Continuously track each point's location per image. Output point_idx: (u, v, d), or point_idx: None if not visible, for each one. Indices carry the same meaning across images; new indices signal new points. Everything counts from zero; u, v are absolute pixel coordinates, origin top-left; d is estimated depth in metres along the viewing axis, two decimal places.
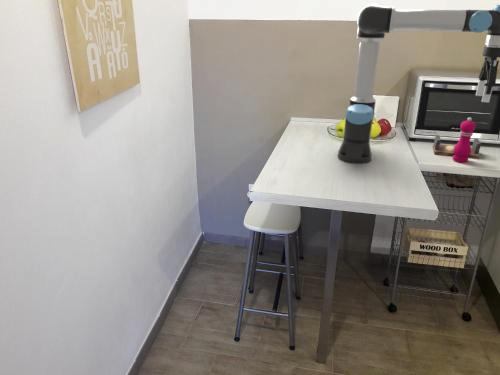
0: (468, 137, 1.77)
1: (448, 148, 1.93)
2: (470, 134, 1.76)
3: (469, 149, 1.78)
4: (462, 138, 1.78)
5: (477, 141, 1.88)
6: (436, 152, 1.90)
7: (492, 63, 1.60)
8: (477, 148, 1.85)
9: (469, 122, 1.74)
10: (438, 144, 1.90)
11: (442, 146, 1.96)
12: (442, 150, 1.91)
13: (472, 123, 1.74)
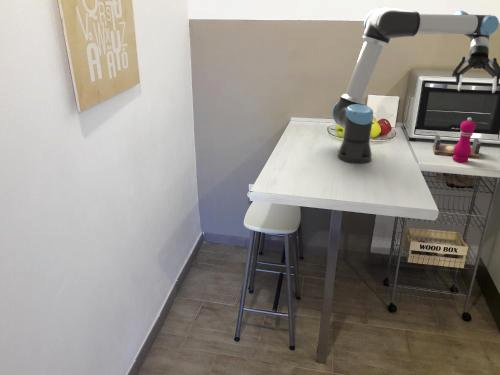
0: (468, 137, 1.77)
1: (448, 148, 1.93)
2: (470, 134, 1.76)
3: (469, 149, 1.78)
4: (462, 138, 1.78)
5: (477, 141, 1.88)
6: (436, 152, 1.90)
7: None
8: (477, 148, 1.85)
9: (469, 122, 1.74)
10: (438, 144, 1.90)
11: (442, 146, 1.96)
12: (442, 150, 1.91)
13: (472, 123, 1.74)
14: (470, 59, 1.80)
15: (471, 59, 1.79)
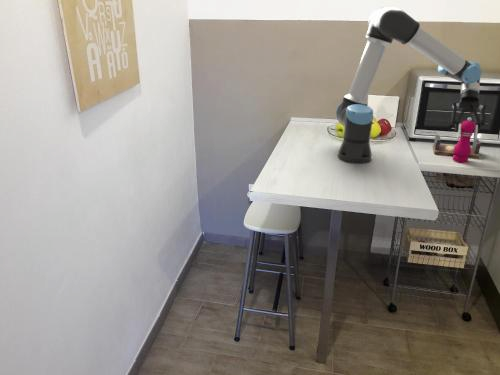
0: (468, 137, 1.77)
1: (448, 148, 1.93)
2: (470, 134, 1.76)
3: (469, 149, 1.78)
4: (462, 138, 1.78)
5: (477, 141, 1.88)
6: (436, 152, 1.90)
7: (485, 107, 1.78)
8: (477, 148, 1.85)
9: (469, 122, 1.74)
10: (438, 144, 1.90)
11: (442, 146, 1.96)
12: (442, 150, 1.91)
13: (472, 123, 1.74)
14: (461, 103, 1.81)
15: (462, 103, 1.81)
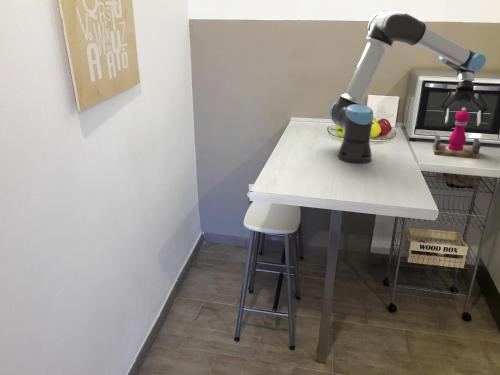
0: (463, 126, 1.86)
1: (448, 148, 1.93)
2: (464, 123, 1.85)
3: (464, 138, 1.87)
4: (457, 127, 1.87)
5: (477, 141, 1.88)
6: (436, 152, 1.90)
7: None
8: (477, 148, 1.85)
9: (463, 112, 1.84)
10: (438, 144, 1.90)
11: (442, 146, 1.96)
12: (442, 150, 1.91)
13: (466, 113, 1.83)
14: (456, 93, 1.90)
15: (457, 93, 1.89)
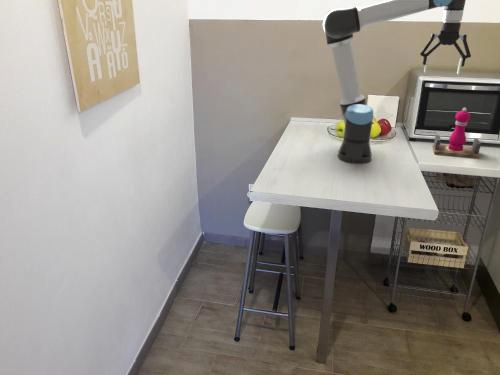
0: (463, 126, 1.86)
1: (448, 148, 1.93)
2: (465, 124, 1.85)
3: (464, 138, 1.87)
4: (457, 127, 1.87)
5: (477, 141, 1.88)
6: (436, 152, 1.90)
7: None
8: (477, 148, 1.85)
9: (464, 112, 1.83)
10: (438, 144, 1.90)
11: (442, 146, 1.96)
12: (442, 150, 1.91)
13: (467, 113, 1.83)
14: (439, 37, 1.73)
15: (440, 37, 1.73)
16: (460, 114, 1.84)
